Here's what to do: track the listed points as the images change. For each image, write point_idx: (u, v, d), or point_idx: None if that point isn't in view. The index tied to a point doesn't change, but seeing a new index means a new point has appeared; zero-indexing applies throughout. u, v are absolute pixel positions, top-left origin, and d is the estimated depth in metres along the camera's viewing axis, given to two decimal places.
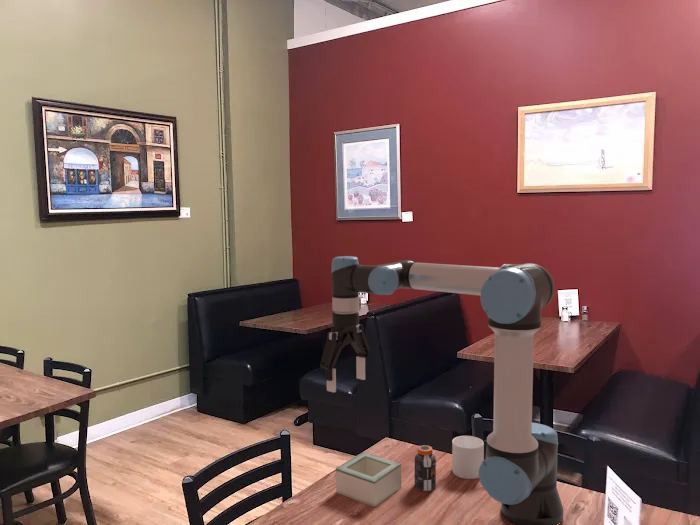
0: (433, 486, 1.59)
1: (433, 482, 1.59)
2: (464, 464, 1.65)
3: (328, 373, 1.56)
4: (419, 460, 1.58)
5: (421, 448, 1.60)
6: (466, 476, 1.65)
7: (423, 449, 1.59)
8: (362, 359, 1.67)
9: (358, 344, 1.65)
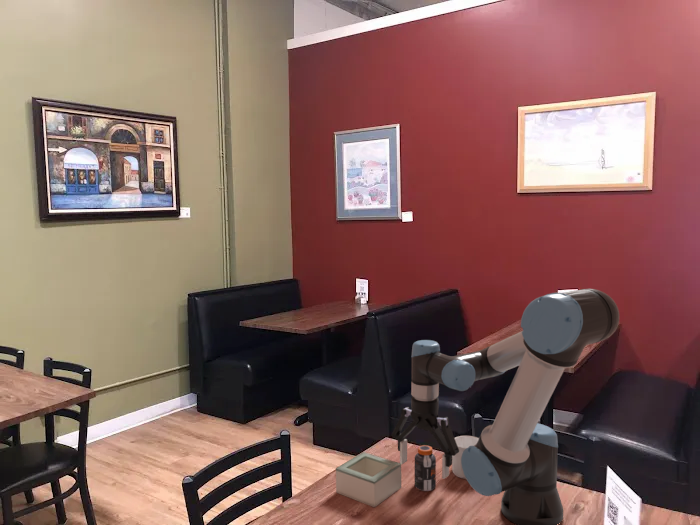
0: (433, 486, 1.59)
1: (433, 482, 1.59)
2: None
3: None
4: (419, 460, 1.58)
5: (421, 448, 1.60)
6: None
7: (423, 449, 1.59)
8: None
9: (435, 437, 1.56)
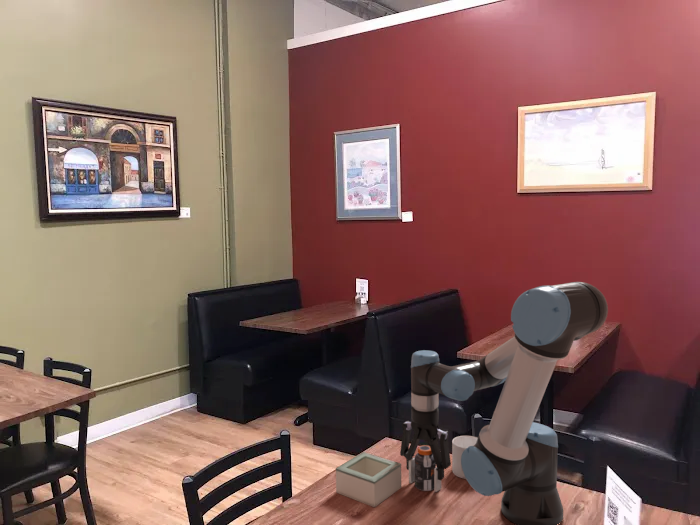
0: (433, 486, 1.59)
1: (433, 482, 1.59)
2: None
3: None
4: (419, 460, 1.58)
5: (421, 448, 1.60)
6: None
7: (423, 449, 1.59)
8: None
9: (432, 448, 1.57)
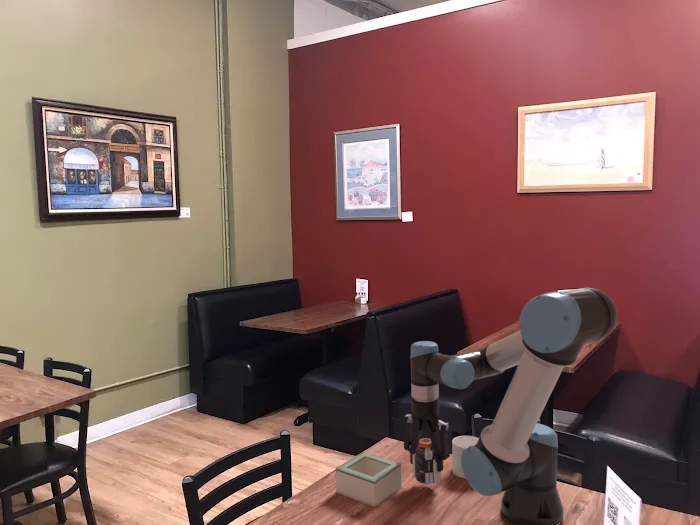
0: None
1: None
2: None
3: None
4: (420, 453, 1.58)
5: (422, 441, 1.59)
6: None
7: (424, 441, 1.59)
8: None
9: (431, 440, 1.57)
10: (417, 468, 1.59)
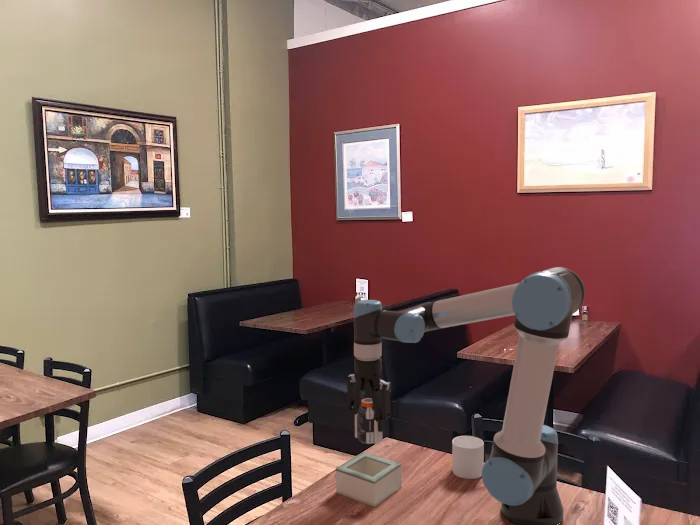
0: None
1: None
2: (464, 464, 1.65)
3: None
4: (361, 412, 1.55)
5: (364, 400, 1.57)
6: (466, 476, 1.65)
7: (366, 401, 1.56)
8: None
9: (373, 399, 1.55)
10: (358, 428, 1.57)
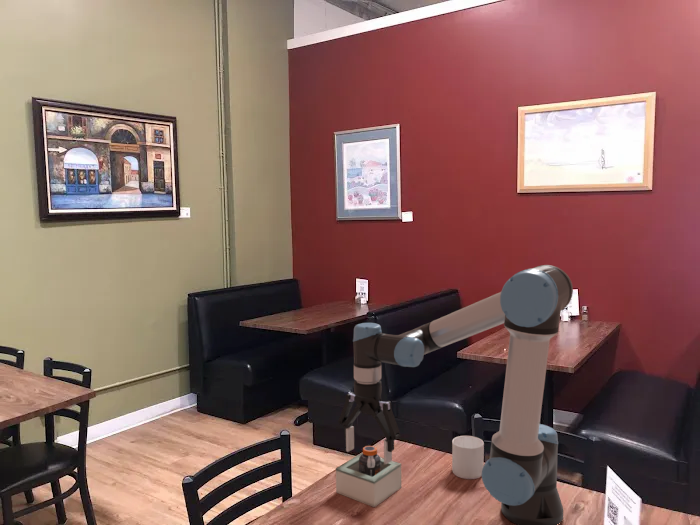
0: None
1: None
2: (464, 464, 1.65)
3: None
4: (363, 460, 1.57)
5: (366, 448, 1.58)
6: (466, 476, 1.65)
7: (367, 449, 1.58)
8: None
9: (377, 421, 1.54)
10: None
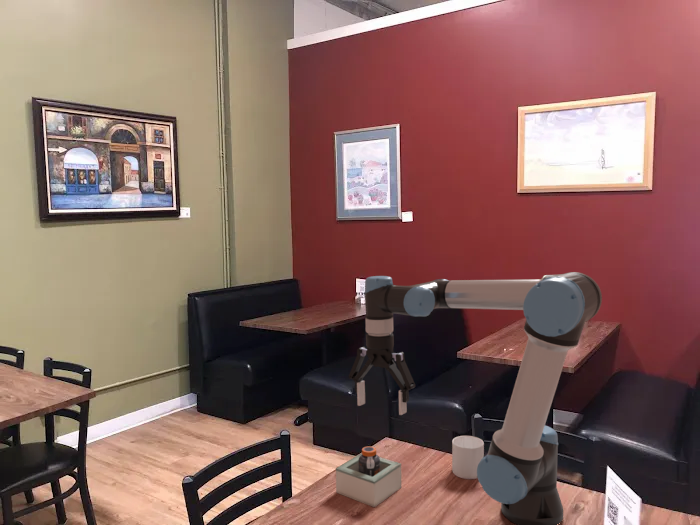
0: None
1: None
2: (464, 464, 1.65)
3: None
4: (362, 461, 1.57)
5: (365, 449, 1.58)
6: (466, 476, 1.65)
7: (367, 450, 1.58)
8: None
9: (391, 372, 1.54)
10: None
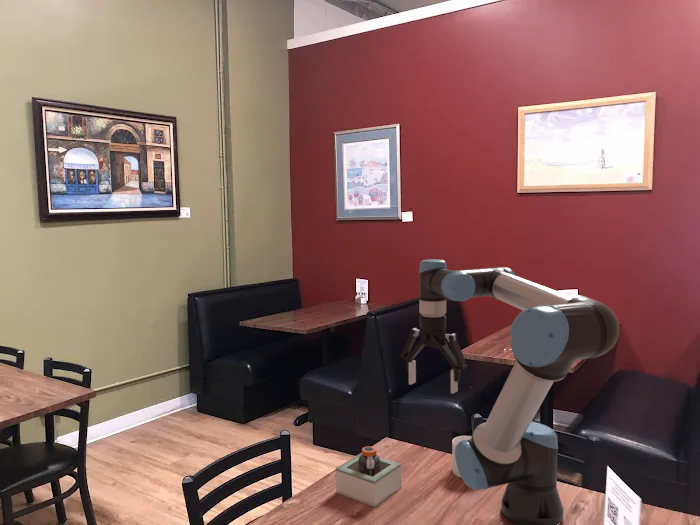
0: None
1: None
2: None
3: None
4: (362, 461, 1.57)
5: (365, 449, 1.58)
6: None
7: (367, 450, 1.58)
8: None
9: (444, 353, 1.59)
10: None
